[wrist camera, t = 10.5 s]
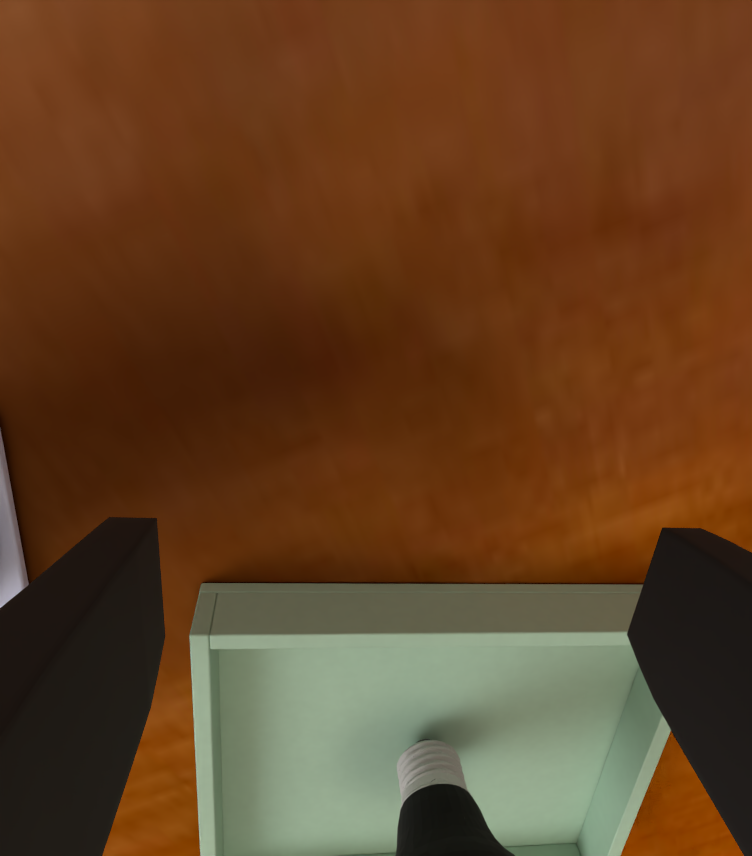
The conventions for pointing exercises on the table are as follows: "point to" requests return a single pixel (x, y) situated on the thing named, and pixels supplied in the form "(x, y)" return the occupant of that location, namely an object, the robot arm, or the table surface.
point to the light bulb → (439, 806)
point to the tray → (418, 712)
